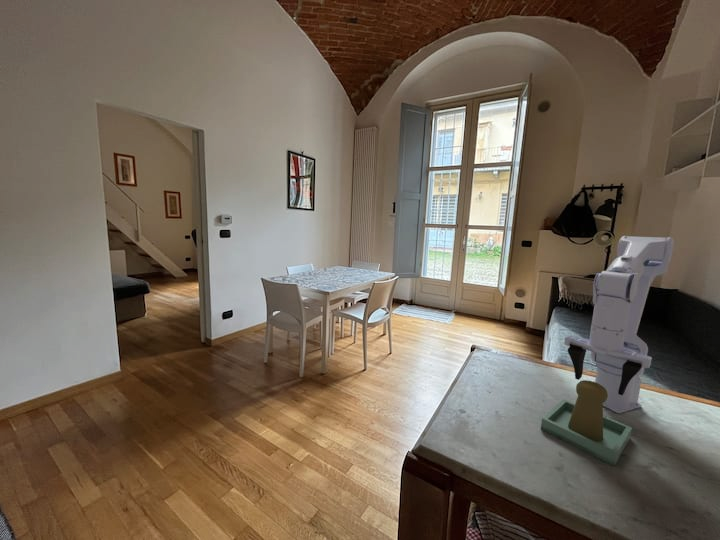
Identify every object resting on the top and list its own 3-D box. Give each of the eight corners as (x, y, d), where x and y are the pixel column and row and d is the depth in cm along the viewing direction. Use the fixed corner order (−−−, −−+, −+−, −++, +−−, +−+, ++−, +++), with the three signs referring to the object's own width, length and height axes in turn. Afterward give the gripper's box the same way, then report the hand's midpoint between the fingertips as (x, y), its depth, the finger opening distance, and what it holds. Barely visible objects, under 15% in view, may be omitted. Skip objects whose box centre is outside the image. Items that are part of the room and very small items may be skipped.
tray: (562, 408, 72) (563, 399, 72) (630, 438, 62) (632, 427, 62) (540, 428, 65) (542, 418, 64) (614, 466, 55) (616, 454, 54)
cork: (609, 436, 62) (617, 387, 60) (594, 445, 59) (602, 394, 57) (577, 419, 67) (583, 374, 65) (562, 427, 64) (568, 380, 63)
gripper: (562, 321, 67) (555, 376, 69) (651, 341, 55) (639, 407, 57) (573, 315, 71) (566, 368, 73) (657, 334, 60) (646, 395, 62)
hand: (598, 385), depth 66 cm, fingers open, 7 cm apart
